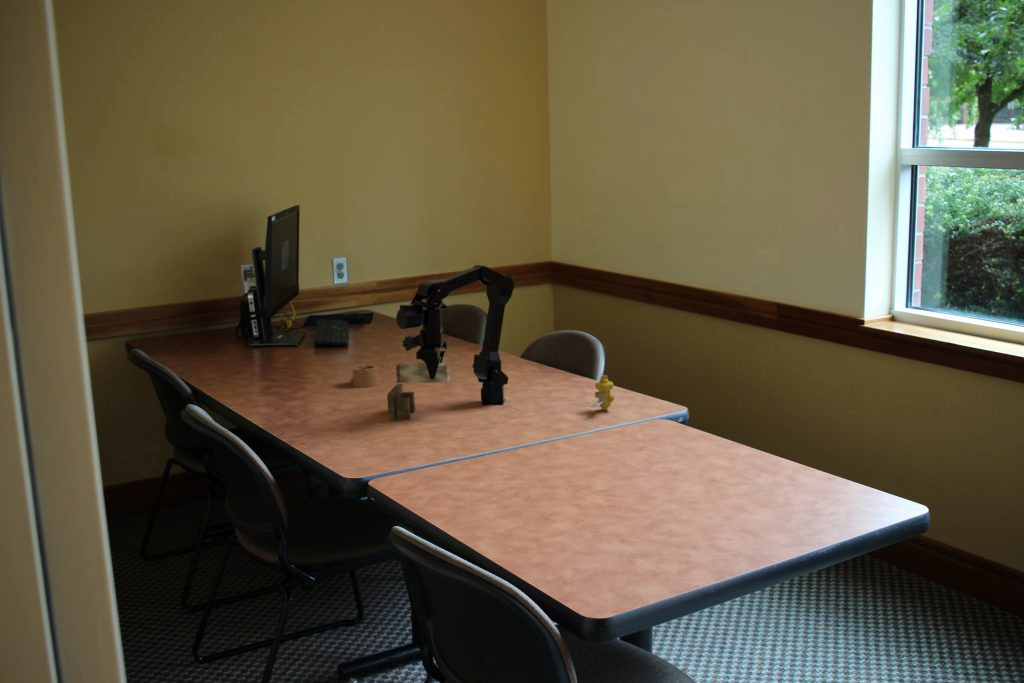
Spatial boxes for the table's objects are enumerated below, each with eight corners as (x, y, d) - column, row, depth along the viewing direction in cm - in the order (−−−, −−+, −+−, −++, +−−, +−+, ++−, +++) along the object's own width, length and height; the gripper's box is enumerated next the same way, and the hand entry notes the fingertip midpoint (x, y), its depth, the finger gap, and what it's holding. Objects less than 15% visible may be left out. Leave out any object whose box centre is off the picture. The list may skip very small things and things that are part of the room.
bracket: (377, 389, 328) (376, 369, 327) (352, 390, 328) (351, 370, 327) (382, 378, 346) (381, 358, 345) (358, 379, 346) (357, 359, 344)
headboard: (416, 409, 300) (415, 383, 298) (407, 421, 286) (406, 394, 285) (398, 409, 300) (397, 383, 299) (388, 421, 287) (387, 394, 285)
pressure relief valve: (616, 407, 294) (615, 374, 293) (602, 417, 284) (602, 383, 282) (598, 406, 297) (598, 373, 295) (584, 416, 286) (583, 381, 284)
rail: (449, 379, 292) (449, 363, 291) (447, 382, 288) (447, 365, 287) (399, 379, 294) (399, 363, 293) (396, 382, 290) (396, 365, 289)
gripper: (410, 320, 298) (413, 371, 301) (397, 330, 280) (399, 384, 282) (447, 320, 297) (449, 371, 299) (436, 330, 278) (438, 384, 281)
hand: (433, 377), depth 291 cm, fingers closed on rail, 4 cm apart
